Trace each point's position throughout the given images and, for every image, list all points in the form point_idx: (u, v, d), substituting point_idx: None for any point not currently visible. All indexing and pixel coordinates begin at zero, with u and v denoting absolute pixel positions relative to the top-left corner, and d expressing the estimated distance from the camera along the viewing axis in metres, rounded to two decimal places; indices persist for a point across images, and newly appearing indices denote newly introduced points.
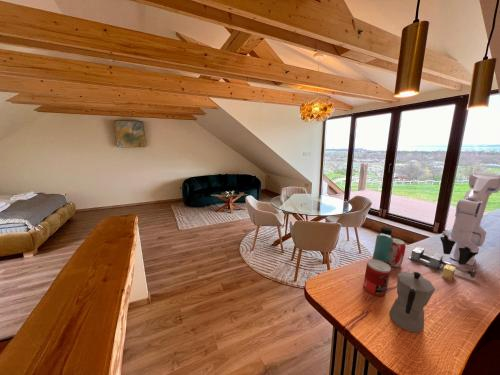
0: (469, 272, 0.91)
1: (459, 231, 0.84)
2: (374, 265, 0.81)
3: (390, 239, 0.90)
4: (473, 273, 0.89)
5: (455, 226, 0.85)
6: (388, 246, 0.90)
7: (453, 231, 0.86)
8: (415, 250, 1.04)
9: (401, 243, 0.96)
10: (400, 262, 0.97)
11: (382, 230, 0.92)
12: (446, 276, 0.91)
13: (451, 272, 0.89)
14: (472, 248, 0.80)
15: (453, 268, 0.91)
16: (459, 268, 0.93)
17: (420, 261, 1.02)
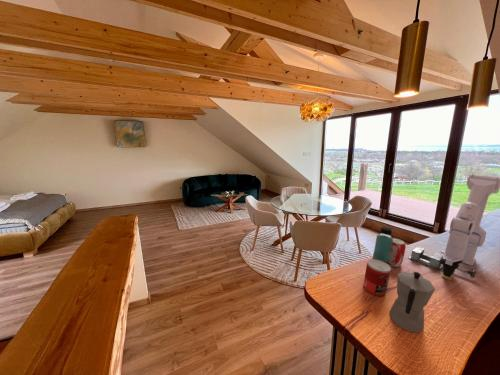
0: (469, 272, 0.91)
1: (447, 245, 0.90)
2: (374, 265, 0.81)
3: (390, 239, 0.90)
4: (473, 273, 0.89)
5: (449, 243, 0.89)
6: (388, 246, 0.90)
7: None
8: (415, 250, 1.04)
9: (401, 243, 0.96)
10: (400, 262, 0.97)
11: (382, 230, 0.92)
12: (446, 276, 0.91)
13: None
14: (446, 260, 0.87)
15: None
16: (459, 268, 0.93)
17: (420, 261, 1.02)
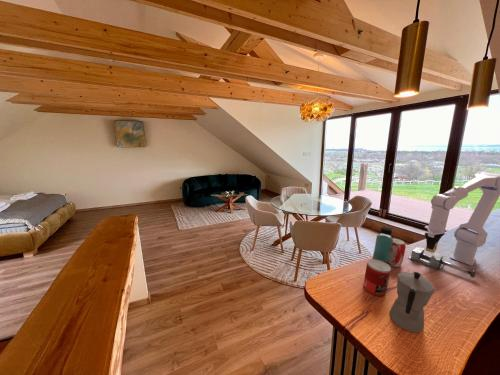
0: (469, 272, 0.91)
1: (430, 220, 0.98)
2: (374, 265, 0.81)
3: (390, 239, 0.90)
4: (473, 273, 0.89)
5: None
6: (388, 246, 0.90)
7: None
8: (415, 250, 1.04)
9: (401, 243, 0.96)
10: (400, 262, 0.97)
11: (382, 230, 0.92)
12: (429, 249, 0.99)
13: None
14: (428, 233, 0.95)
15: None
16: (459, 268, 0.93)
17: (420, 261, 1.02)
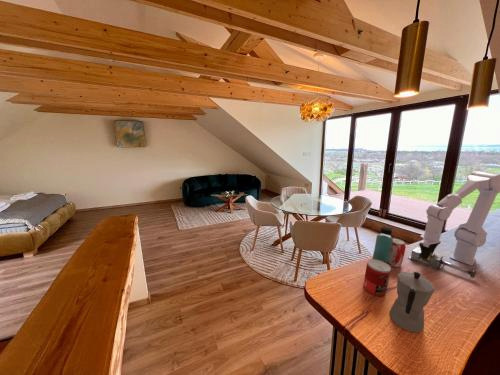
0: (469, 272, 0.91)
1: (425, 230, 1.00)
2: (374, 265, 0.81)
3: (390, 239, 0.90)
4: (473, 273, 0.89)
5: (426, 226, 1.01)
6: (388, 246, 0.90)
7: None
8: (415, 250, 1.04)
9: (401, 243, 0.96)
10: (400, 262, 0.97)
11: (382, 230, 0.92)
12: None
13: None
14: None
15: (430, 253, 1.02)
16: (459, 268, 0.93)
17: (420, 261, 1.02)
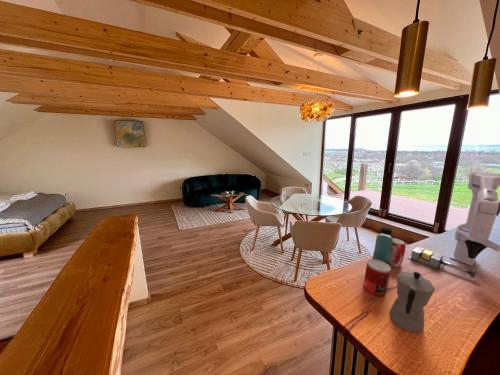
0: (469, 272, 0.91)
1: (480, 231, 0.85)
2: (374, 265, 0.81)
3: (390, 239, 0.90)
4: (473, 273, 0.89)
5: (475, 226, 0.86)
6: (388, 246, 0.90)
7: (473, 231, 0.87)
8: (415, 250, 1.04)
9: (401, 243, 0.96)
10: (400, 262, 0.97)
11: (382, 230, 0.92)
12: None
13: (428, 256, 1.00)
14: (497, 247, 0.81)
15: (430, 253, 1.02)
16: (459, 268, 0.93)
17: (420, 261, 1.02)
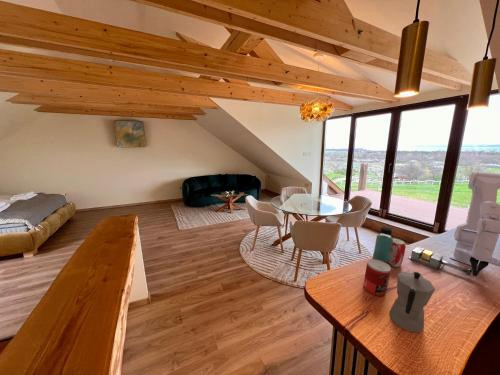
0: (465, 271, 0.92)
1: (488, 250, 0.84)
2: (374, 265, 0.81)
3: (390, 239, 0.90)
4: (469, 271, 0.90)
5: (479, 244, 0.86)
6: (388, 246, 0.90)
7: (480, 251, 0.86)
8: (415, 250, 1.04)
9: (401, 243, 0.96)
10: (400, 262, 0.97)
11: (382, 230, 0.92)
12: None
13: (428, 256, 1.00)
14: None
15: (430, 253, 1.02)
16: (455, 267, 0.94)
17: (420, 261, 1.02)
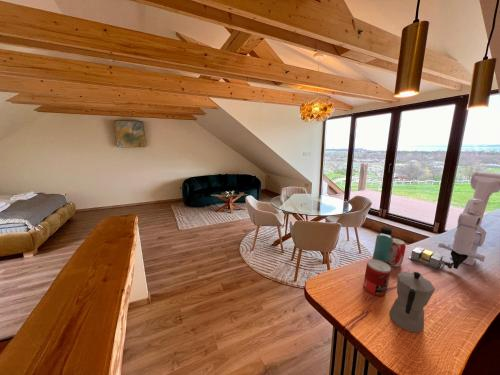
0: (447, 264, 0.97)
1: (467, 244, 0.89)
2: (374, 265, 0.81)
3: (390, 239, 0.90)
4: (450, 264, 0.95)
5: (457, 238, 0.92)
6: (388, 246, 0.90)
7: (460, 244, 0.91)
8: (415, 250, 1.04)
9: (401, 243, 0.96)
10: (400, 262, 0.97)
11: (382, 230, 0.92)
12: None
13: (428, 256, 1.00)
14: (483, 258, 0.87)
15: (430, 253, 1.02)
16: None
17: (420, 261, 1.02)
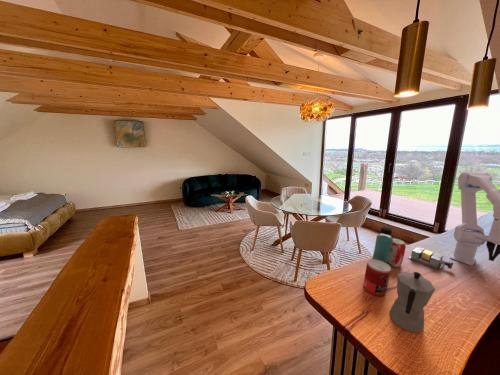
0: (446, 264, 0.97)
1: None
2: (374, 265, 0.81)
3: (390, 239, 0.90)
4: (450, 264, 0.95)
5: (499, 229, 0.84)
6: (388, 246, 0.90)
7: (498, 234, 0.85)
8: (415, 250, 1.04)
9: (401, 243, 0.96)
10: (400, 262, 0.97)
11: (382, 230, 0.92)
12: None
13: (428, 256, 1.00)
14: None
15: (430, 253, 1.02)
16: None
17: (420, 261, 1.02)
